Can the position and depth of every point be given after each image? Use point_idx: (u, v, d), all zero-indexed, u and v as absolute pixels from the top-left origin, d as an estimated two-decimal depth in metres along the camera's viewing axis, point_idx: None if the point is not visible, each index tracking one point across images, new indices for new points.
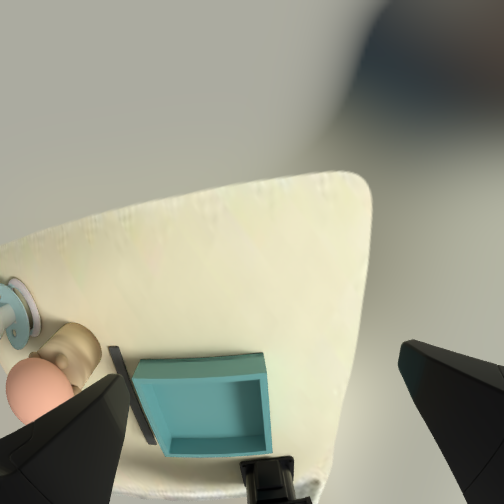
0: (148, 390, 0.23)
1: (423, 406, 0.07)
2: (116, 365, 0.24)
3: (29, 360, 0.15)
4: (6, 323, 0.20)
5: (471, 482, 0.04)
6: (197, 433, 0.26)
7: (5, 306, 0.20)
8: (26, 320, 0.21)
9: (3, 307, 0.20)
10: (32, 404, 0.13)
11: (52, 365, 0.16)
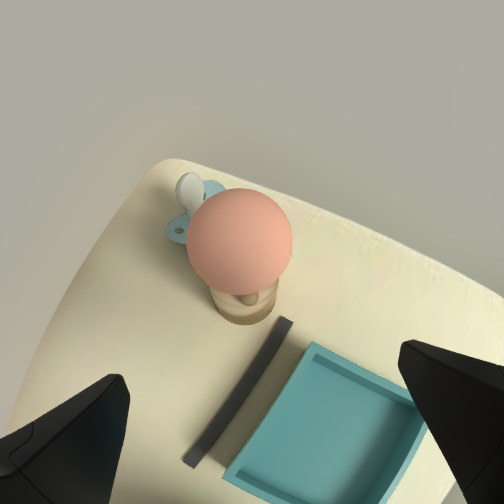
0: None
1: (423, 406, 0.07)
2: (271, 338, 0.21)
3: None
4: None
5: (471, 482, 0.04)
6: (279, 478, 0.16)
7: None
8: None
9: None
10: (273, 213, 0.15)
11: None
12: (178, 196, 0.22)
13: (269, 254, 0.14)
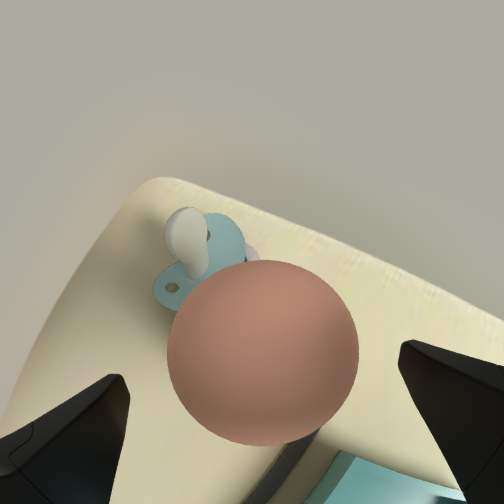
0: None
1: (423, 406, 0.07)
2: (296, 440, 0.14)
3: None
4: (196, 263, 0.17)
5: (471, 482, 0.04)
6: None
7: (207, 252, 0.19)
8: None
9: (207, 249, 0.19)
10: (337, 325, 0.07)
11: None
12: (168, 245, 0.15)
13: (326, 407, 0.06)
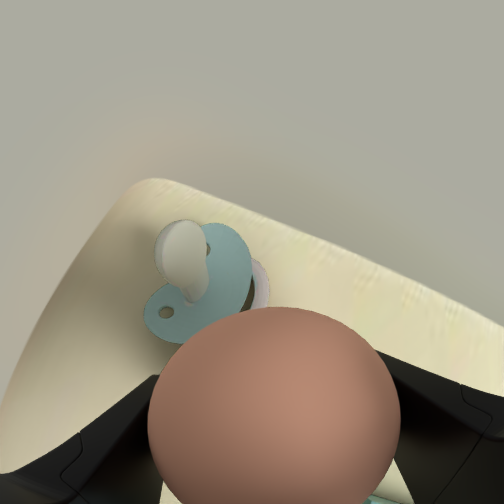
0: None
1: None
2: None
3: None
4: (194, 285, 0.14)
5: None
6: None
7: (207, 270, 0.16)
8: None
9: (206, 267, 0.16)
10: (384, 411, 0.04)
11: None
12: (159, 267, 0.12)
13: None
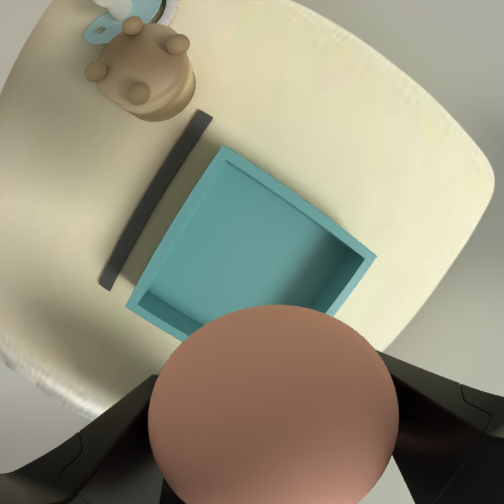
0: (210, 185, 0.16)
1: None
2: (184, 136, 0.17)
3: None
4: (117, 7, 0.12)
5: None
6: (190, 304, 0.19)
7: None
8: None
9: None
10: (382, 408, 0.04)
11: None
12: None
13: (357, 501, 0.04)
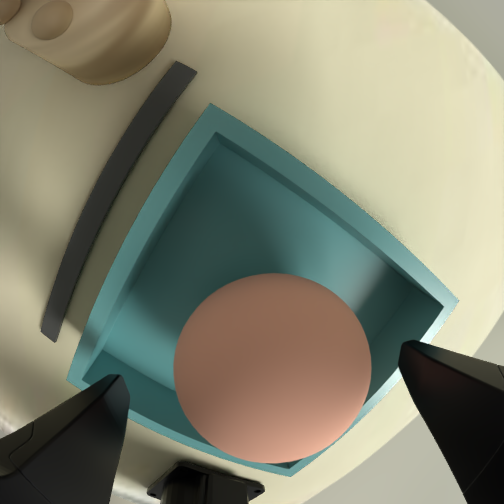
0: (187, 183, 0.09)
1: (423, 406, 0.07)
2: (149, 103, 0.09)
3: None
4: None
5: (471, 482, 0.04)
6: (167, 371, 0.12)
7: None
8: None
9: None
10: (355, 340, 0.07)
11: None
12: None
13: (346, 421, 0.06)
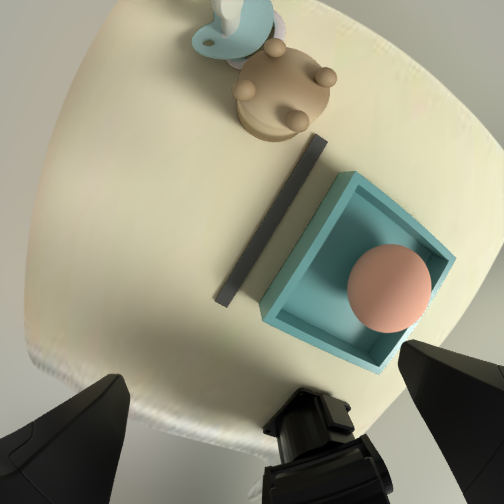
0: None
1: (423, 406, 0.07)
2: (304, 158, 0.19)
3: None
4: (234, 21, 0.14)
5: (471, 482, 0.04)
6: (310, 311, 0.21)
7: None
8: (258, 44, 0.16)
9: None
10: (424, 263, 0.17)
11: None
12: (216, 6, 0.12)
13: (430, 295, 0.16)
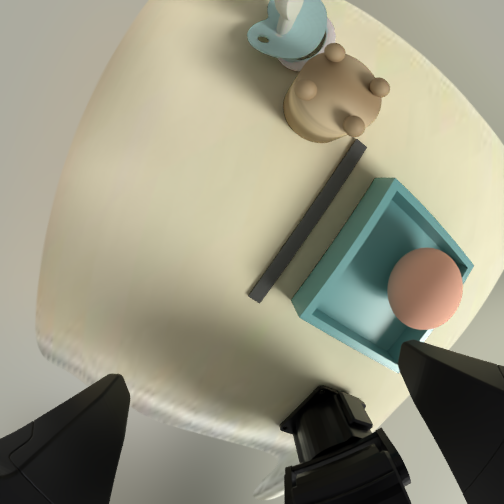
0: None
1: (423, 406, 0.07)
2: (345, 161, 0.19)
3: None
4: (292, 21, 0.14)
5: (471, 482, 0.04)
6: (340, 310, 0.21)
7: None
8: (311, 47, 0.16)
9: None
10: None
11: None
12: (282, 4, 0.12)
13: None
